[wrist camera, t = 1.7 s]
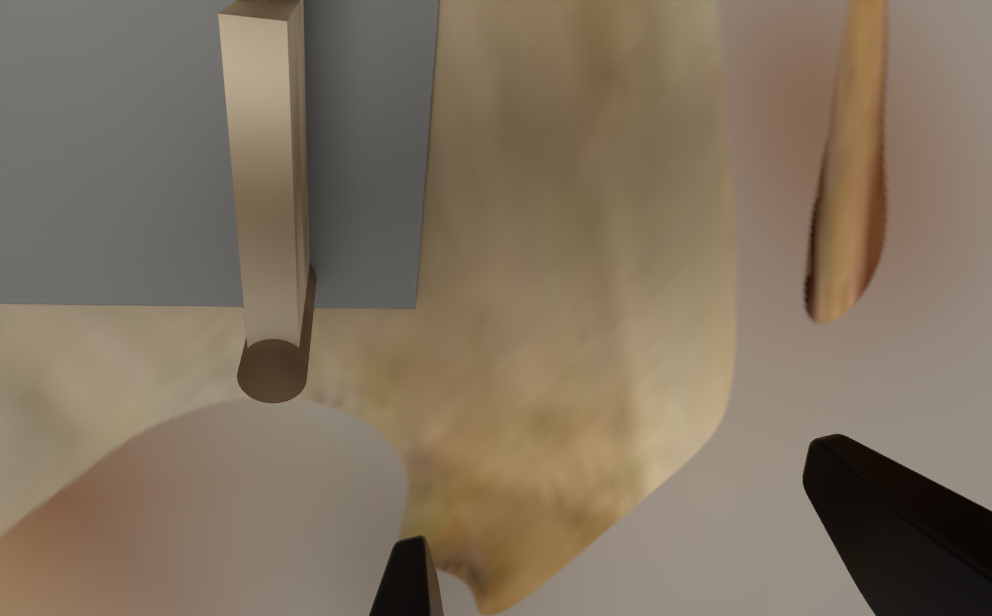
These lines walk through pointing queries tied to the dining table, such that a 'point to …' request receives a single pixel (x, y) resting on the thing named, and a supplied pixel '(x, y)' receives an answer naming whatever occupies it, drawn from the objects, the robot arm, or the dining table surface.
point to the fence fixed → (253, 1)
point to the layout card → (202, 152)
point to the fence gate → (270, 191)
